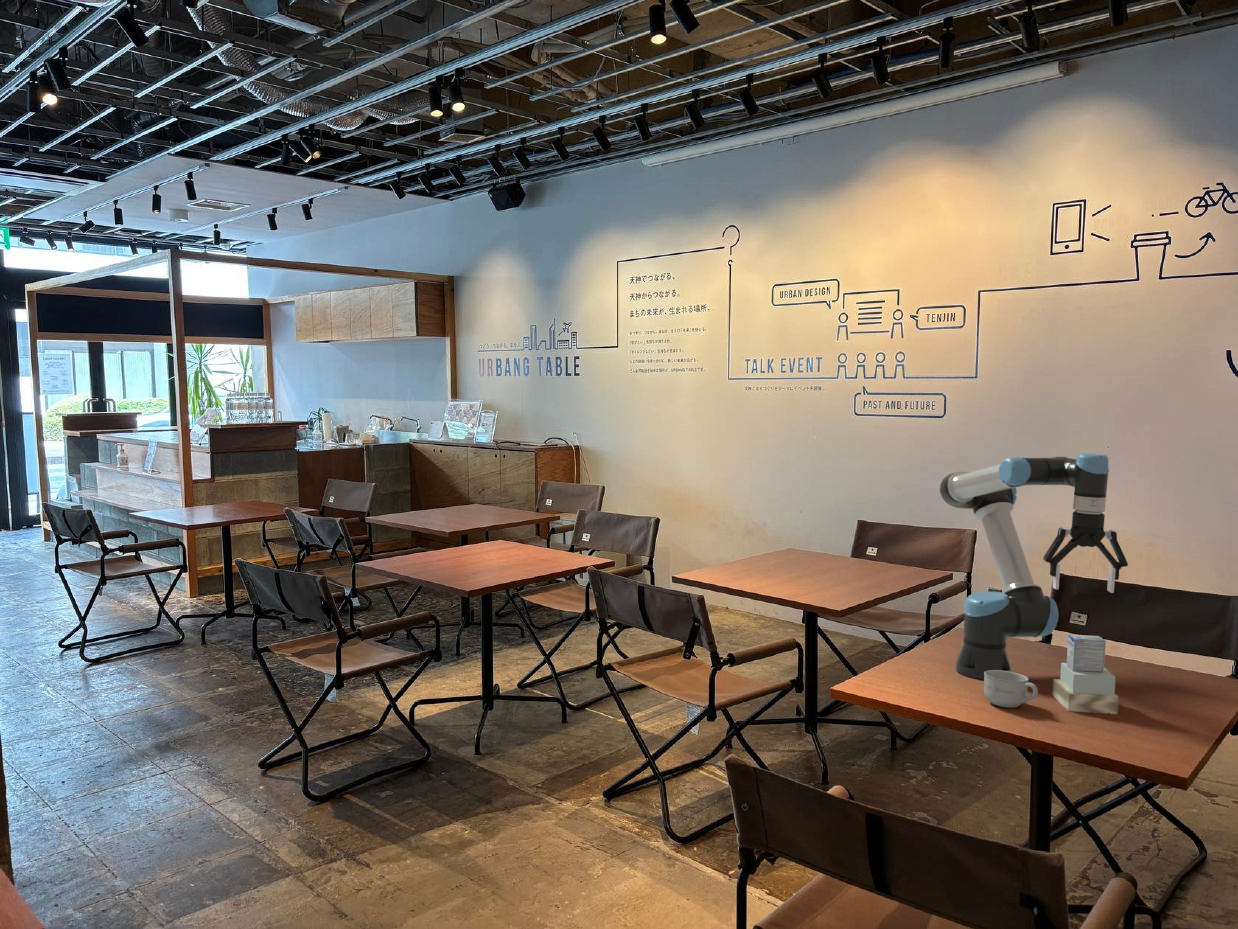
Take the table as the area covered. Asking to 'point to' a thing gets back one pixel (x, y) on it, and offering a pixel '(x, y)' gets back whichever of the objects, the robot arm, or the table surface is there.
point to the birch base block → (1084, 700)
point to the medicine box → (1086, 653)
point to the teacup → (1007, 688)
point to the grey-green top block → (1088, 681)
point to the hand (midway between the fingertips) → (1082, 590)
